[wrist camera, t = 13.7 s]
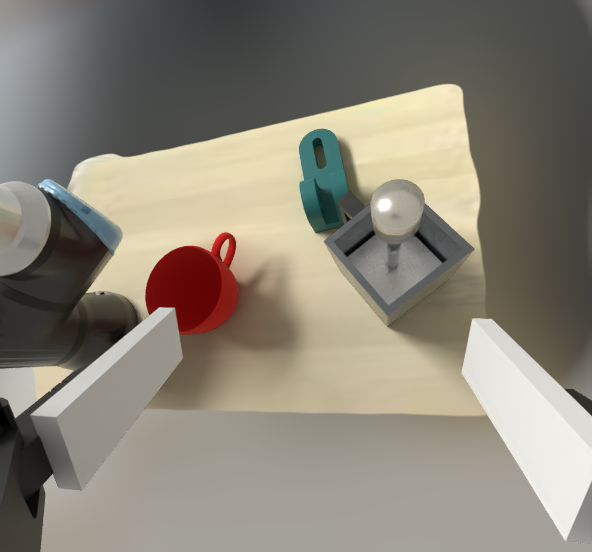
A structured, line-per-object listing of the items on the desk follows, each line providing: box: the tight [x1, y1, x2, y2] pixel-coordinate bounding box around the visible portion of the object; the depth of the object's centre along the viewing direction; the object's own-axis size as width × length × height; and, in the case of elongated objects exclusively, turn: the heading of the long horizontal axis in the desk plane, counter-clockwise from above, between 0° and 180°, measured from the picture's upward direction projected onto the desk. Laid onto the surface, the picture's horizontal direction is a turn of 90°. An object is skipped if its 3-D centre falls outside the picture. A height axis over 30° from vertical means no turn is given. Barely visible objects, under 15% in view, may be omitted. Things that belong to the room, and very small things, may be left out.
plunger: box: [347, 179, 443, 305], centre depth 32 cm, size 9×9×17 cm
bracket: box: [299, 129, 349, 233], centre depth 50 cm, size 18×7×8 cm, turn 8°
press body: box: [324, 191, 474, 327], centre depth 41 cm, size 15×11×14 cm
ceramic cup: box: [145, 232, 238, 334], centre depth 49 cm, size 13×17×10 cm
